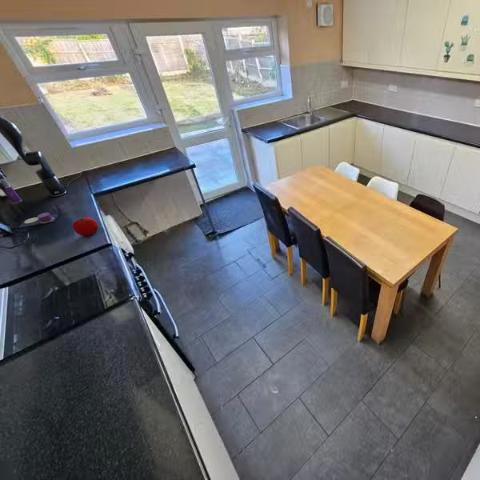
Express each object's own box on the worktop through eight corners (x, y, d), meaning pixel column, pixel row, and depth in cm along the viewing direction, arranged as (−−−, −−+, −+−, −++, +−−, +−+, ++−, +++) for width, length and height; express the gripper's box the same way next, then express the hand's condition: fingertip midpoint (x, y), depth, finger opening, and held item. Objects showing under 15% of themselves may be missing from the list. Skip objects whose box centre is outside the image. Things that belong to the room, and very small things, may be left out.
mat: (25, 219, 182) (25, 219, 182) (59, 213, 188) (59, 213, 188) (18, 228, 174) (17, 227, 174) (53, 221, 180) (53, 221, 179)
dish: (43, 218, 182) (39, 213, 180) (54, 216, 184) (50, 211, 182) (39, 223, 178) (35, 218, 175) (51, 221, 179) (47, 216, 177)
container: (16, 203, 170) (-2, 181, 161) (10, 203, 171) (-8, 181, 162) (24, 200, 174) (7, 178, 165) (18, 199, 175) (1, 178, 166)
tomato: (76, 240, 162) (65, 225, 155) (81, 230, 171) (71, 216, 164) (99, 236, 166) (90, 220, 159) (103, 226, 174) (94, 211, 167)
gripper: (-18, 157, 160) (3, 183, 171) (-32, 165, 150) (-9, 193, 160) (-2, 155, 162) (18, 181, 173) (-15, 163, 152) (7, 190, 162)
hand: (5, 186), depth 166 cm, fingers closed on container, 4 cm apart
